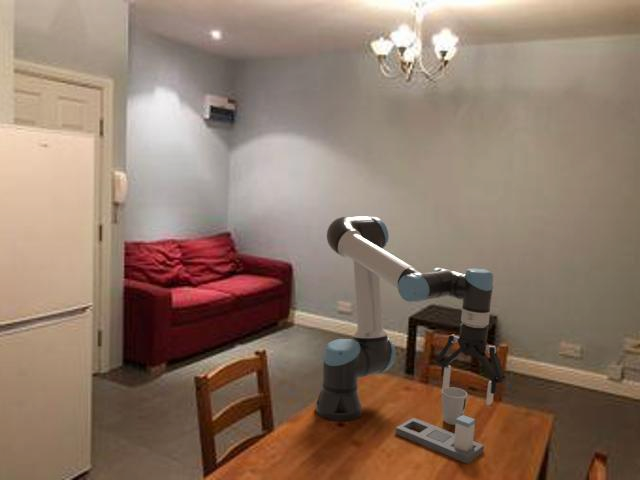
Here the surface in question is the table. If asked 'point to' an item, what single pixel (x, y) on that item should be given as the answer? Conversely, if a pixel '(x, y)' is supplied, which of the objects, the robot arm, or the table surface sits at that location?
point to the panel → (437, 440)
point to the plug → (464, 433)
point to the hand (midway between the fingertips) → (466, 395)
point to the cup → (453, 404)
